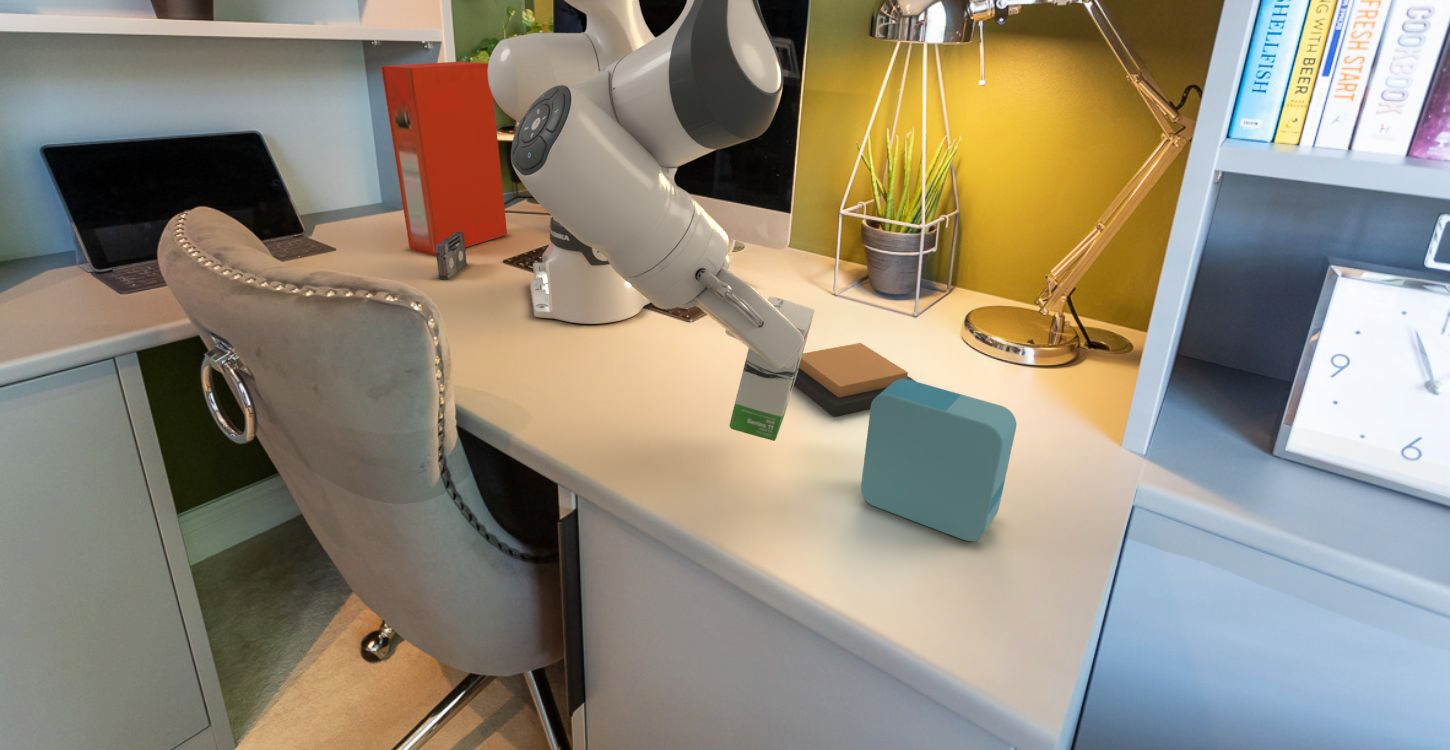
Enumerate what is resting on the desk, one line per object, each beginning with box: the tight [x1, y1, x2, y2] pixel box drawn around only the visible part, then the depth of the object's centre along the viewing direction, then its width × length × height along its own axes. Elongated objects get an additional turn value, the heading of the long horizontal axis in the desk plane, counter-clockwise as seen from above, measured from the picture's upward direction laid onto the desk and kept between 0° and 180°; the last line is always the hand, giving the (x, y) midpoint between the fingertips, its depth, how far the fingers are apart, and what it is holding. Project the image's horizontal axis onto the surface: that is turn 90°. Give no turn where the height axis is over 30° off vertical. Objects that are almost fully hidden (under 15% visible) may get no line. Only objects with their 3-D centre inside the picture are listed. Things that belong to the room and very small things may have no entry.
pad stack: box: [793, 342, 916, 418], centre depth 98 cm, size 13×13×3 cm
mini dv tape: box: [435, 232, 468, 280], centre depth 133 cm, size 8×2×6 cm, turn 175°
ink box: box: [729, 296, 815, 442], centre depth 77 cm, size 9×5×12 cm, turn 168°
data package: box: [860, 379, 1017, 542], centre depth 72 cm, size 12×4×12 cm, turn 56°
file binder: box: [380, 61, 508, 257], centre depth 144 cm, size 8×17×32 cm, turn 150°
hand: (770, 344), depth 75 cm, fingers closed on ink box, 6 cm apart
